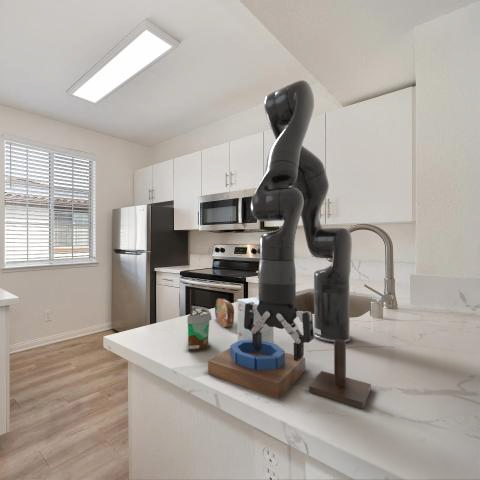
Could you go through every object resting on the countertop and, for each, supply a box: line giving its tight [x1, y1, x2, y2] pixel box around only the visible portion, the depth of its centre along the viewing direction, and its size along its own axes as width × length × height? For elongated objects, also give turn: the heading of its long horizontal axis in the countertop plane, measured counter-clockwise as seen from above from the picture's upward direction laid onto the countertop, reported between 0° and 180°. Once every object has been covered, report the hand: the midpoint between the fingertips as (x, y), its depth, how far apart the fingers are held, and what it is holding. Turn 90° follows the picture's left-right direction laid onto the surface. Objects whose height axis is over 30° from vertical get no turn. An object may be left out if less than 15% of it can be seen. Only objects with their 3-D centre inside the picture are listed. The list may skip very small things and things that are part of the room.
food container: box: [187, 305, 212, 353], centre depth 85 cm, size 12×6×10 cm, turn 168°
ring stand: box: [308, 339, 372, 410], centre depth 60 cm, size 9×9×10 cm
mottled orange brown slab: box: [214, 297, 235, 328], centre depth 106 cm, size 15×3×8 cm, turn 5°
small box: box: [236, 297, 275, 344], centre depth 83 cm, size 8×6×13 cm
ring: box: [229, 340, 286, 370], centre depth 68 cm, size 11×11×2 cm
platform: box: [207, 347, 306, 400], centre depth 68 cm, size 16×16×3 cm
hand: (276, 354), depth 65 cm, fingers open, 8 cm apart
